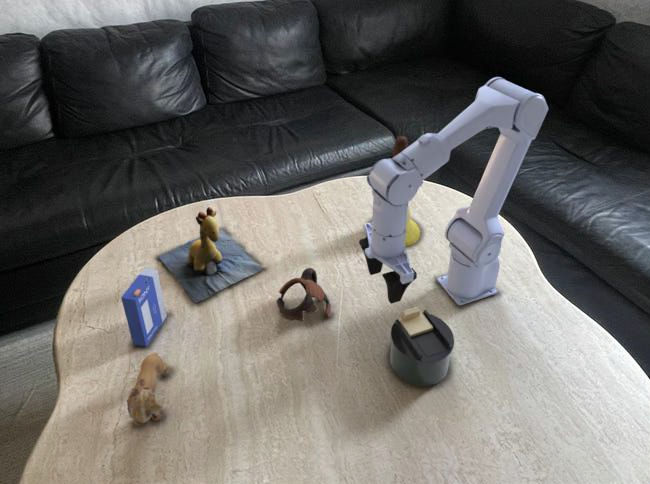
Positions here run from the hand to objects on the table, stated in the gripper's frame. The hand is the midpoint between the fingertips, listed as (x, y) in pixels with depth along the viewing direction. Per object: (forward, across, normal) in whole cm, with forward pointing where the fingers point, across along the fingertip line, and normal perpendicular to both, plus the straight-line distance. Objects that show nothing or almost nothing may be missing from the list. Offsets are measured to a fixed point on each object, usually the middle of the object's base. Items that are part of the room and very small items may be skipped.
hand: (384, 286), depth 93 cm
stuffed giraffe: (+10, -29, -27) cm, 41 cm away
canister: (+9, +10, +2) cm, 14 cm away
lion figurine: (+9, +1, -42) cm, 43 cm away
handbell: (+10, -24, +16) cm, 30 cm away
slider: (+3, +8, +2) cm, 8 cm away
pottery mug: (+10, -9, -12) cm, 18 cm away
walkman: (+9, -15, -41) cm, 45 cm away
